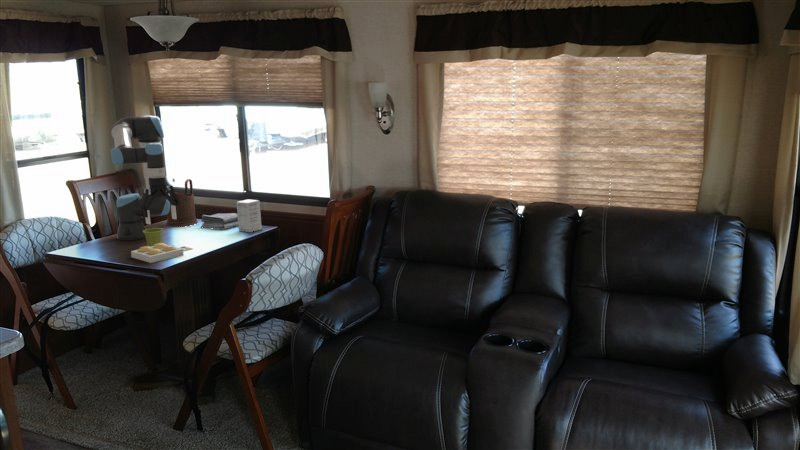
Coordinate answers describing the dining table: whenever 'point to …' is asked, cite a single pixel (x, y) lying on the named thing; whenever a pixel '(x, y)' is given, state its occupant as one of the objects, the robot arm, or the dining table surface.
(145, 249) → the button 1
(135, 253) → the white square food tray
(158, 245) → the button
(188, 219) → the brown basket
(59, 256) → the dining table surface
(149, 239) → the plant pot
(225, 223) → the towel
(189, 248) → the card
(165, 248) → the button
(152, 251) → the button
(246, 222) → the supplement box
